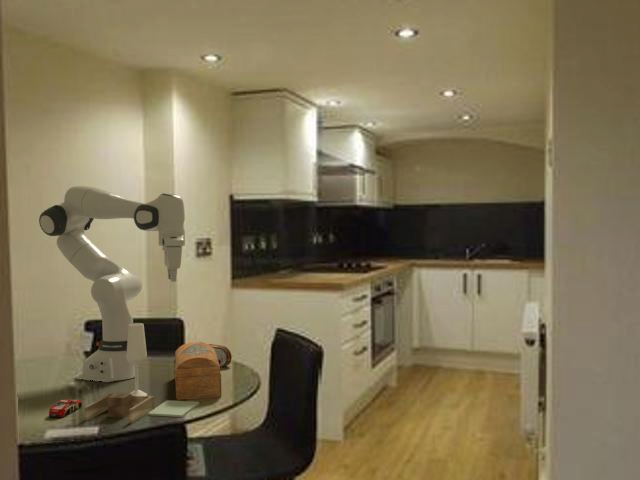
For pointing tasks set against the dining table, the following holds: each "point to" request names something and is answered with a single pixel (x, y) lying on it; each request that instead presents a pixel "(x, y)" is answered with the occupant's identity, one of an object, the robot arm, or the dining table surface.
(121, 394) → the walnut block
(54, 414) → the race car
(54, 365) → the dining table surface
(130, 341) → the champagne flute
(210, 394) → the wooden box
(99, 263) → the robot arm
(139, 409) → the birch u-shaped frame
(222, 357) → the tin
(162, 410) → the felt mat
